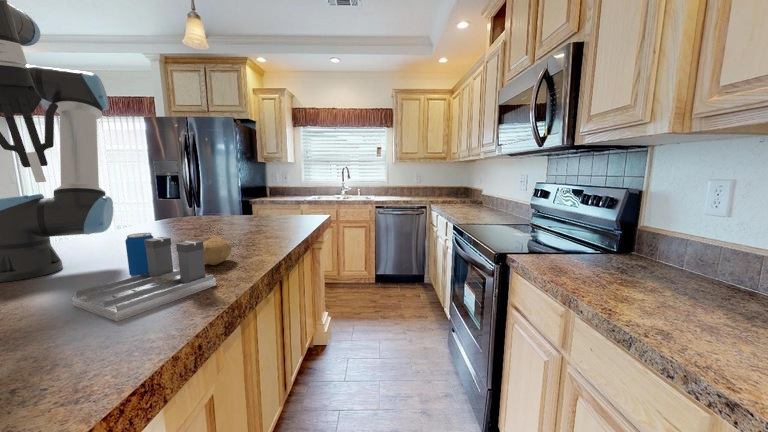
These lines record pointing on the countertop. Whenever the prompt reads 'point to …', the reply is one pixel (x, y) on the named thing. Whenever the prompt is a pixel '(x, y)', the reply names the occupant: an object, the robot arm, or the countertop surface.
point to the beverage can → (137, 253)
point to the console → (138, 294)
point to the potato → (215, 251)
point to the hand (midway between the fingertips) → (40, 181)
